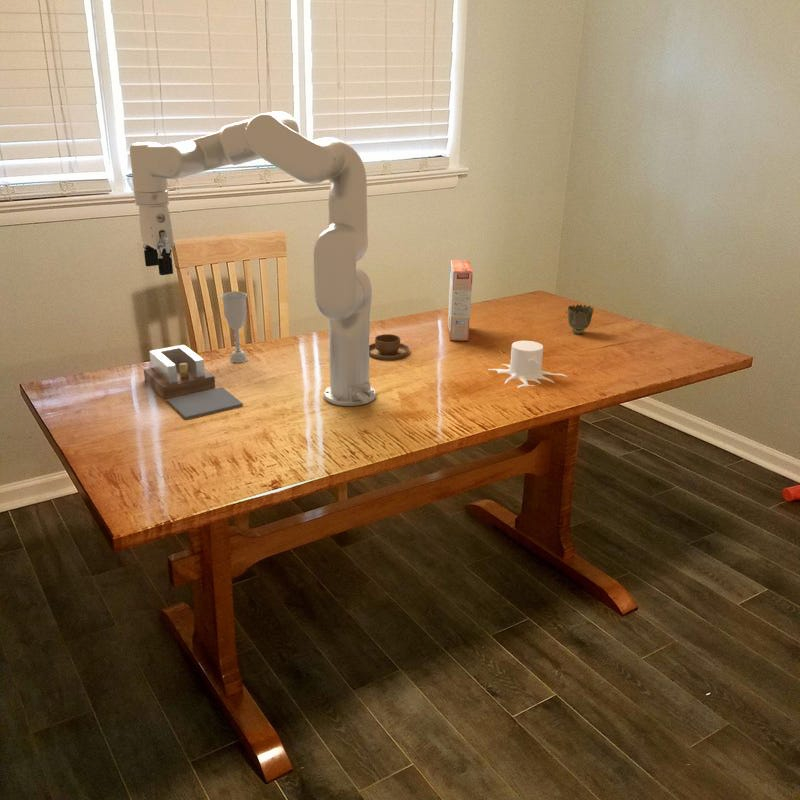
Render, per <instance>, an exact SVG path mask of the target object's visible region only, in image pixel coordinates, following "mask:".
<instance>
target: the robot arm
mask: <svg viewBox="0 0 800 800" xmlns="http://www.w3.org/2000/svg"><path fill="white" fill-rule="evenodd" d="M129 157H130V164H131V165H130V166H131V175H132V183H133V193H134V200H135V201H134V203H135V206H137V207H138V213H139V216H138V217H139V226H140V227H139V228H140V237H141V240H142V242H143V245H142V247H143V253H144V254H143V255H144V262H145V263H144V264H145V266H146V267H147V268H148V267H154V266H155V267H156V266H158V274H159V275H160V276H166V275H173V274H174V268H173V267H174V266H173V259H172V257H173V255H172V248H173V247H174V246H175V241H174V233H173V228H172V227H173V225H172V220H171V215H170V211H169V208H168V207H169V206H168V205H170V202H169V200H170V199H169V190H168V180H177V179H182V178H185V177H189V176H192V175H196V174H200V173H203V172H207V171H211V170H214V169H217V168H221V167H226V166H229V165H233V166H236V165H241V164H245V163H248V162H252V161H256V160H259V159H263V160H264V161H266V162H268V163H269V164H271V165H272V166H275V168H278V169H279V170H281V171H282V172H284V173H286V174H287V175H289V176H291V177H292V178H295V179H296V180H298V181H300V182H303V183H305V184H309V185H317V184H320V183H323V182H325V181H327V180H328V181H329V182H328V183H329V193H328V224H327V225H328V226H327V228H326V229H325V230H323V231H321V232H320V234H319V236H318V237H317V238H316V241H315V244H314V248H313V281H314V282H313V284H314V285H313V286H314V288H313V289H314V300H315V304H316V307H317V309H318V311H319V312H320V314H321V315H322V316H324V317H325V318H327V319H328V351H329V352H328V354H329V355H328V358H329V359H328V360H329V386H327V387H326V388H325V390H324V391H323V397H324V399H325V401H327V402H329V403H330V404H333V405H336V406H343V407H345V406H346V407H351V406H352V407H355V406H362V405H366V404H368V403H371V402H373V401H374V399H376V397H377V391H376V390H375V388H374V387H373V386H371V382H370V356H369V345H370V328H371V327H370V325H371V324H370V319H371V309H372V308H371V307H372V297H373V296H372V295H373V289H372V288H373V287H372V283H371V280H370V277H369V276H368V274H367V273H366V272H365V271H364V270H363V269H361V268H359V267H357V263H358V262H359V261H360V260H362V258H363V257H364V256H365V254H366V253H367V250H368V244H369V243H368V241H369V240H368V181H367V180H368V179H367V173H366V172H367V171H366V168H365V165H364V162H363V160H362V158H361V156H360V154H358V152H357V151H356V150H355V149H354V148H353V147H352V146H351V145H350V144H348V143H347V142H345V141H343V140H341V139H338V138H335V137H321V138H317V139H313V140H311V139H309V138H307V137H305V136H304V135H302V134H300V130H299V125H298V123H297V121H296V120H295V118H293V116H292V115H291V114H289V113H287V112H284V111H272V112H271V111H269V112H264V113H260V114H257V115H255V116H254V117H252V118H249V119H244V120H241V121H237V122H234V123H231V124H227V125H224V126H222V127H221V128H220V130H219V131H216V132H215V133H214V132H213V133H211V134H207V135H205V136H200V137H198V138H197V137H196V138H193V139H190V140H185V141H180V142H174V143H169V144H164V145H162V144H161V143H158V142H152V141H144V142H143V141H142V142H135V143H132V144H131V145H130V147H129ZM167 179H168V180H167Z"/></svg>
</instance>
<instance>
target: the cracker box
mask: <svg viewBox="0 0 800 800" xmlns="http://www.w3.org/2000/svg"><path fill="white" fill-rule="evenodd" d="M472 268H473V267H472V266H471V262H470V260H467V259H462V260H461V259H459V260H458V259H451V260H450V269H449V270H450V271H449V291H448V311H447V312H448V313H447V315H448V316H447V331H448V337H449V341H461V342H468V341H469V339H470V323H471V305H472V304H471V303H472V290H473V289H472V288H473V274H474V273H473V272H474V271H473V269H472Z"/></svg>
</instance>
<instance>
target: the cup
mask: <svg viewBox="0 0 800 800" xmlns="http://www.w3.org/2000/svg"><path fill="white" fill-rule="evenodd" d="M593 312H594V307H593V306H590V305H588V306H587V305H586V304H584V305H582V304H578V303H577V304H576V305H575V304H573V305H568V306H567V313H568V314H567V315H568V316H567V319H568V325H569V326H570V328H572V329H571V332H572V333H573V334H575V335H583V334H584V333H585V331H586V330H585V329H587V328H588V327H589V326H590V324H591V321H592V317H593Z"/></svg>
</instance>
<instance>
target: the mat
mask: <svg viewBox="0 0 800 800" xmlns="http://www.w3.org/2000/svg"><path fill="white" fill-rule="evenodd" d="M166 402H167V403H168V404H169V405H170V406H171V407H172V408H174V409H173V410H175V411H176V412H177V413H178V414H179V415H180V416H182V417H183V419H185V420H189V419H192V418H197V417H201V416H202V417H203V416H205V415H209V414H213V413H218V412H223V411H227V410H230V409H235V408H239V406H240V407H243V406H244V403H243V402H241V401H240V400H239V398H237V397H235V396H234V395H233V394H232V393H231V392H230V391H228V390H227V389H226V388H224V387H223V386H222V387H221V386H220V387H215V388H211V389H206V390H202V391H197V392H193V393H188V394H184V395H179V396H175V397H170V398H166ZM242 405H243V406H242ZM222 410H223V411H222Z"/></svg>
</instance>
